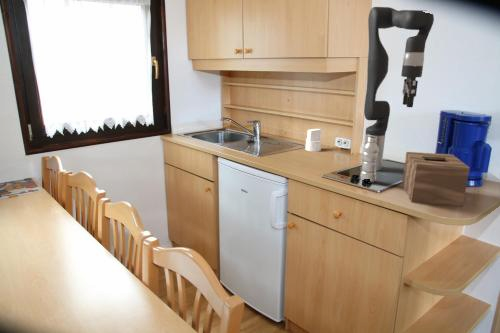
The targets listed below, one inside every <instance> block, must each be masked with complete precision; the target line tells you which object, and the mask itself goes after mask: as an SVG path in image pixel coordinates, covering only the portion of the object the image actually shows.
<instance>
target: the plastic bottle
mask: <svg viewBox="0 0 500 333" xmlns="http://www.w3.org/2000/svg"><path fill="white" fill-rule="evenodd" d="M367 141H368V143H367V144H366V145H365V146H364V145H363V149H362V154H363V155H362V162H363V167H362V166H361V172H360V180H361V181H362V180H364V179H370V181H371V182H370V183H374V182H376V178H377V171H376V162H377V156H378V152H379V148H378V146H377V144H376V142H377V137H368V140H367Z"/></svg>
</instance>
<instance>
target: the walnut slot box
mask: <svg viewBox="0 0 500 333" xmlns="http://www.w3.org/2000/svg"><path fill="white" fill-rule="evenodd" d="M404 160H405V162H404V166H403V168H404V169H403V174H402V175H403V176H402V183H401V186H402V188H403V190H404V192H405V194H406V195H407V197H408V199H409V201H410V202H411V203H416V204H417V203H419V204H433V205H440V206H441V205H443V206H451V207H452V206H453V207H455V206H456V207H463V206H464V202H465V195H466V191H467V185H468V180H469V175H470V168H471V167H470V166H468V165H467V164H466V163H464V162H463V161H462V160H461V159H459V158H458V157H456V156H455V155H454V154H451V153H450V154H449V153H432V152H415V151H406V152H405V159H404Z"/></svg>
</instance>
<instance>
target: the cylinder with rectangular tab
mask: <svg viewBox="0 0 500 333" xmlns="http://www.w3.org/2000/svg"><path fill="white" fill-rule="evenodd" d="M321 135H322V129H320V128H313V129H307V135H306V139H305V151H308V152H320V151H321V150H322V140H321V137H322V136H321Z"/></svg>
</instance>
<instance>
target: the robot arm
mask: <svg viewBox="0 0 500 333" xmlns="http://www.w3.org/2000/svg"><path fill="white" fill-rule="evenodd" d="M423 11H424V10H421V9H420V10H419V9H417V10H416V9H415V10H414V9H413V10H412V9H411V10H410V9H402V10H401V9H400V10H397V9H395V8H393V7H388V6H386V7H385V6H373V7H372V8H371V9H370V10H369V14H368V22H367V24H368V25H367V26H368V28H367V29H368V53H367V54H368V55H367V72H366V74H367V77H366V92H365V99H364V100H365V101H364V109H363V115H364V119H365V120H367V121H375V123H373V124H372V125H370V126H367V127H366V128H365V134H364V135H365V136H364V143H363V144H364V145H363V147H364V146H365V145H366V144H367V143H368V141H367V140H368V137H377V142H376V144H377V146H378V148H379V152H378V156H377V162H376V172H377V171H381V170H382V165H383V157H384V149H385V140H386V132H387V130H388V125H389V119H390V114H391V106H390V104H389V101H387V100H376V99H377V98H376V97H377V92H378V89H379V87H380V86H381V84H383V81H384V80H385V79H386V77H387V74H388V72H389V61H390V58H389V55H388V52H387V50H386V49H385V47H384V45H383V43H382V41H381V37H380V32H379V30H380V29H383V30H386V29H390V28H397V29H404V30H407V31H408V30H411V31H418V33H417V34H416V35H414V36H413V35H412V36H410V37H408V38H406V42H405V49H404V55H403V58H402V59H403V61H402V69H401V75H400V76H401V77H402V78H404V80H403V87H402V96H403V98H402V105H404V106H406V108H413V107H414V101H415V97H417V90H418V82H419V80H417V78H422V76H423V70H424V63H425V62H424V61H425V50H426V44H427V43H426V42H427V40H428V37H429V34H430V32H431V29H432V27H433V25H434V23H435V22H434V21H435V16H434V13H433V14H430V13H425V12H423ZM362 167H363V161H362V164H361V168H362Z"/></svg>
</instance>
